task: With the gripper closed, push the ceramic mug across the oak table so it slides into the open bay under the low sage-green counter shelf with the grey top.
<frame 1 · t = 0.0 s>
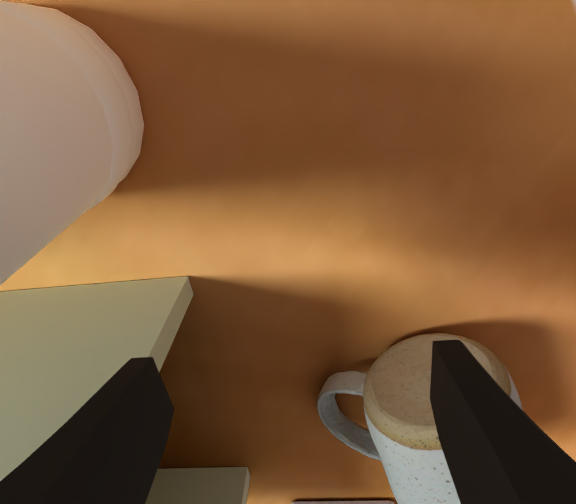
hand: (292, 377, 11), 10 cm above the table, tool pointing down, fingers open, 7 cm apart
counter shelf: (114, 398, 27), on the table
ceramic mug: (407, 381, 25), on the table
bottle: (58, 107, 18), on the table
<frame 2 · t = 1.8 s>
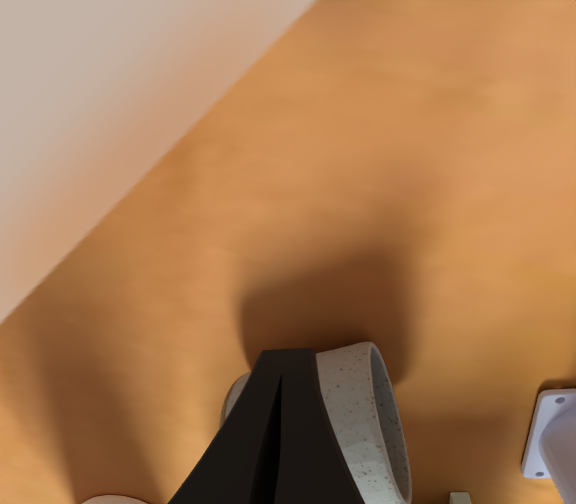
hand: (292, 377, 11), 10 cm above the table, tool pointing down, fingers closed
ceramic mug: (329, 386, 25), on the table
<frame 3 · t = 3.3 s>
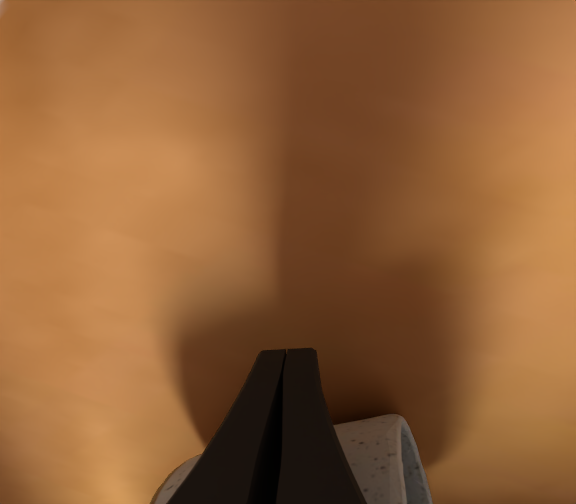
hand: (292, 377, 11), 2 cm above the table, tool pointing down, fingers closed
ceramic mug: (325, 467, 16), on the table, touching gripper
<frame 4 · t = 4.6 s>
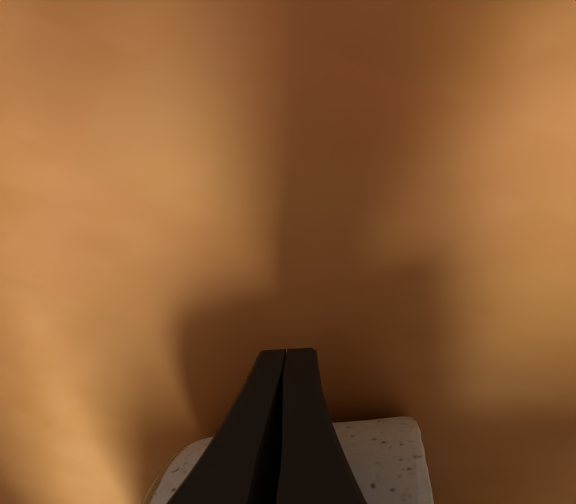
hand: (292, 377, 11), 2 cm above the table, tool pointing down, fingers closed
ceramic mug: (320, 463, 16), on the table, touching gripper
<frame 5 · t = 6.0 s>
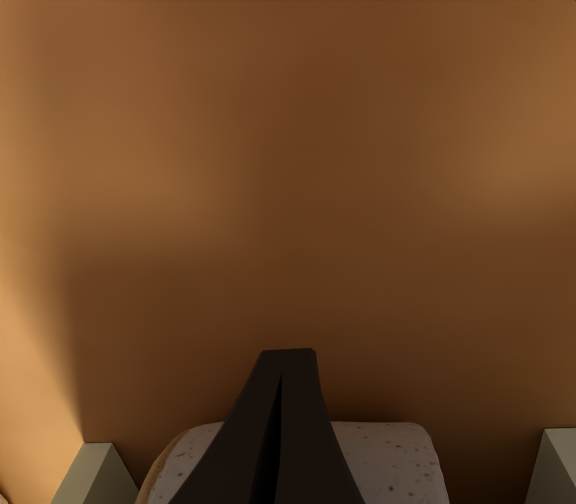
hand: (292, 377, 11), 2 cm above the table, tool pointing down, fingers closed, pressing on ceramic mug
ceramic mug: (310, 460, 16), on the table, touching gripper
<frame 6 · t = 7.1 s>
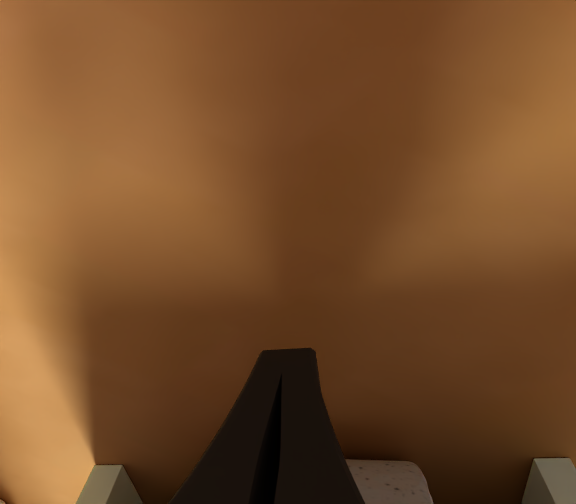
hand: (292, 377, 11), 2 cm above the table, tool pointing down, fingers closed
ceramic mug: (313, 489, 17), on the table
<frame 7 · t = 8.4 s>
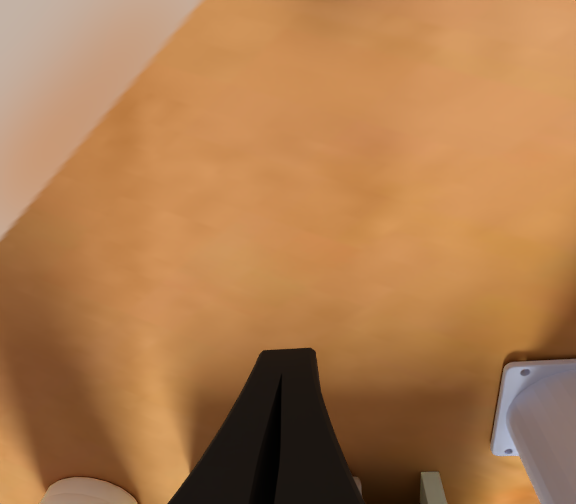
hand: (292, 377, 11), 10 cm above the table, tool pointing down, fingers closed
bottle: (96, 500, 34), on the table
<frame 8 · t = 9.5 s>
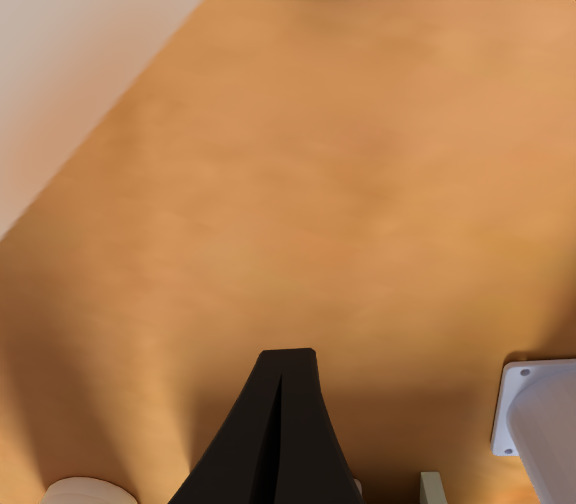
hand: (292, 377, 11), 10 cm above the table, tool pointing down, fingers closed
bottle: (96, 500, 34), on the table
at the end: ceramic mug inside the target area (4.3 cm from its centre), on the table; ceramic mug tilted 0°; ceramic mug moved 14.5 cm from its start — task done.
